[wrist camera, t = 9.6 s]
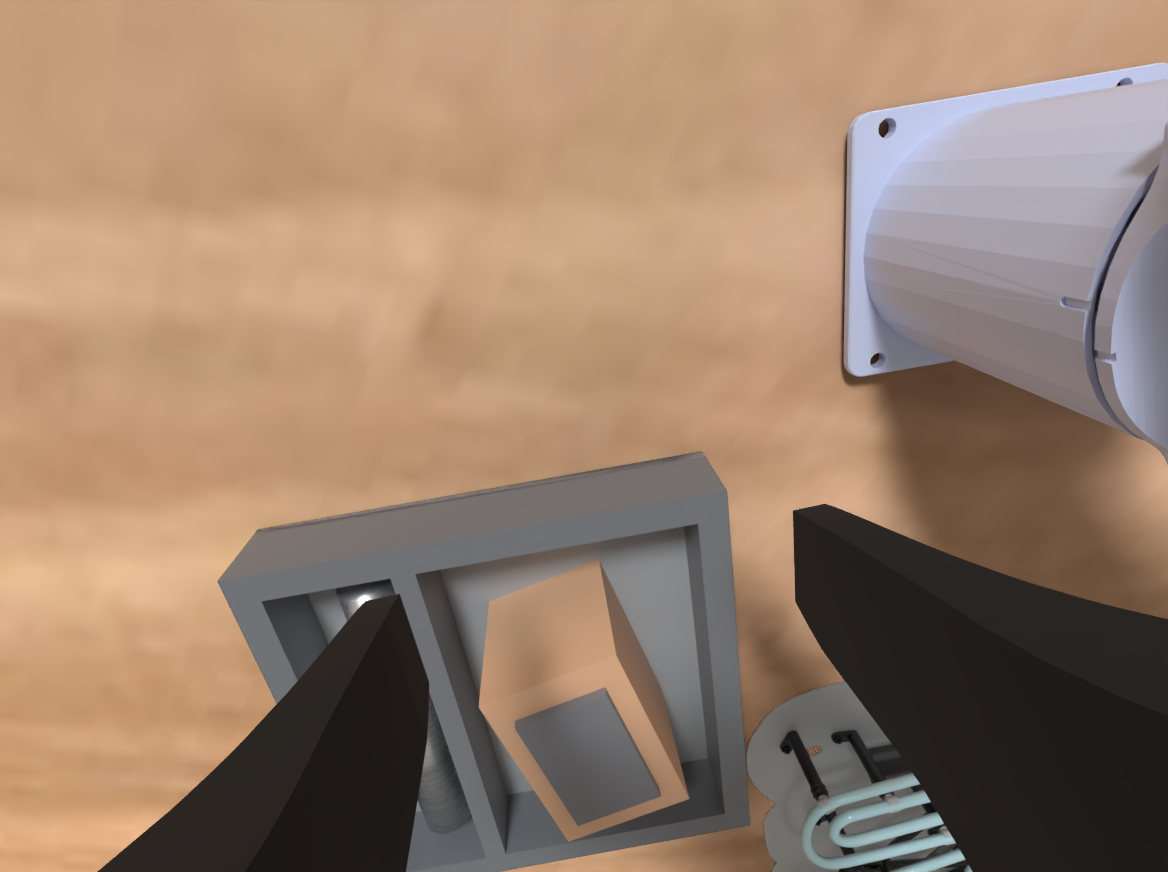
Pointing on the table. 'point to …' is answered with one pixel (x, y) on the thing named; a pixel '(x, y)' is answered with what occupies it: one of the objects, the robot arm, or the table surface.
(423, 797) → the rod
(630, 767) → the block
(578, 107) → the table surface
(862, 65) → the table surface
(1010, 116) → the robot arm
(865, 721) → the neon sign
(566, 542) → the grey divided tray
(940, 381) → the table surface
